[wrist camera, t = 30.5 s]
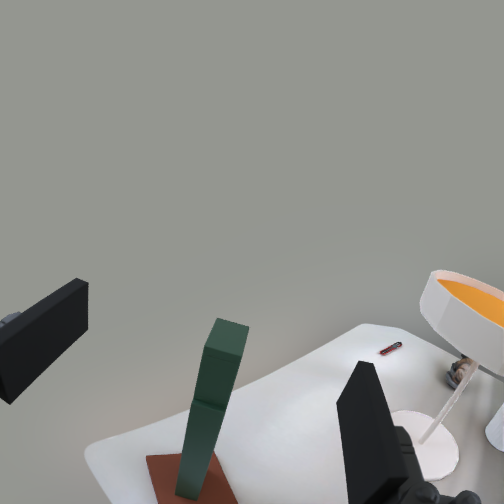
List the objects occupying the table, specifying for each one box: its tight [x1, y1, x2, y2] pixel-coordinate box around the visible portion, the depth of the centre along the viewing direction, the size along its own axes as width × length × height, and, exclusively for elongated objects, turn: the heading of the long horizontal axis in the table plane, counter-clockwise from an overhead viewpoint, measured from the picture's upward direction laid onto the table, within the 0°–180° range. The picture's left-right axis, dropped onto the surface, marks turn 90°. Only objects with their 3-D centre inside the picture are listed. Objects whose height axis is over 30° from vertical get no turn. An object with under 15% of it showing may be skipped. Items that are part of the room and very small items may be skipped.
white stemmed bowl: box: [390, 270, 504, 481], centre depth 42 cm, size 30×30×31 cm
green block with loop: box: [174, 318, 249, 501], centre depth 29 cm, size 3×6×25 cm, turn 174°
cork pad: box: [146, 451, 238, 504], centre depth 33 cm, size 10×10×1 cm
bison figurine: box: [446, 354, 474, 389], centre depth 69 cm, size 12×7×10 cm, turn 135°
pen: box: [380, 342, 402, 355], centre depth 82 cm, size 2×14×1 cm, turn 127°
